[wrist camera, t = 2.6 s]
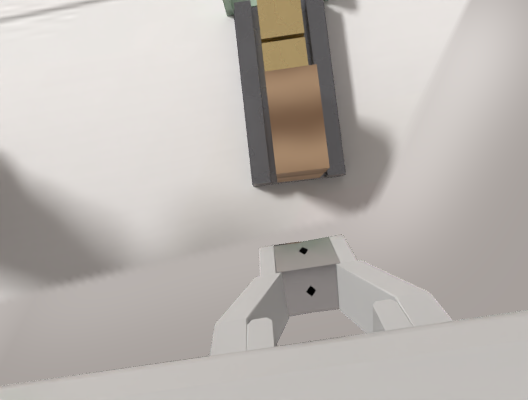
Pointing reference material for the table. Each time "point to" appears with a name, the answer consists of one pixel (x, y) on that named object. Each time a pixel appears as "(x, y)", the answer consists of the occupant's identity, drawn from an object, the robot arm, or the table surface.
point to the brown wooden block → (297, 123)
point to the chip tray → (229, 5)
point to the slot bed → (257, 90)
